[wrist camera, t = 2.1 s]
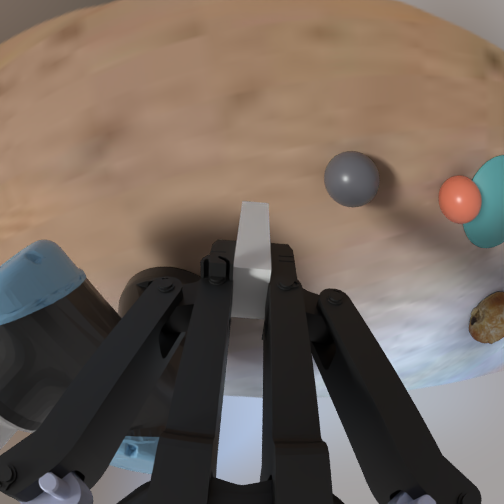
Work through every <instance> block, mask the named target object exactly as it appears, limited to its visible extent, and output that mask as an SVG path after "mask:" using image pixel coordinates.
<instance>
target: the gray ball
mask: <svg viewBox="0 0 504 504" xmlns="http://www.w3.org/2000/svg"><path fill="white" fill-rule="evenodd" d="M324 182H325V186H326V189H327V192H328V193H329V195H330V196H331V197H332V198H333V199H334V200H335V201H336V202H337V203H339V204H341V205H343V206H347V207H359V206H363V205H365V204H367V203H368V202H370V201H371V200H372V199H373V198H374V196H375V195H376V193H377V191H378V188H379V183H380V178H379V172H378V169H377V167H376V165H375V164H374V162H373V161H372V160H371V159H370V158H369V157H367V156H366V155H364V154H362V153H359V152H355V151H347V152H343V153H340V154H338V155H336V156H335V157H334V158H333V159H332V160H331V161H330V162H329V163H328V165H327V167H326V170H325V175H324Z"/></svg>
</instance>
